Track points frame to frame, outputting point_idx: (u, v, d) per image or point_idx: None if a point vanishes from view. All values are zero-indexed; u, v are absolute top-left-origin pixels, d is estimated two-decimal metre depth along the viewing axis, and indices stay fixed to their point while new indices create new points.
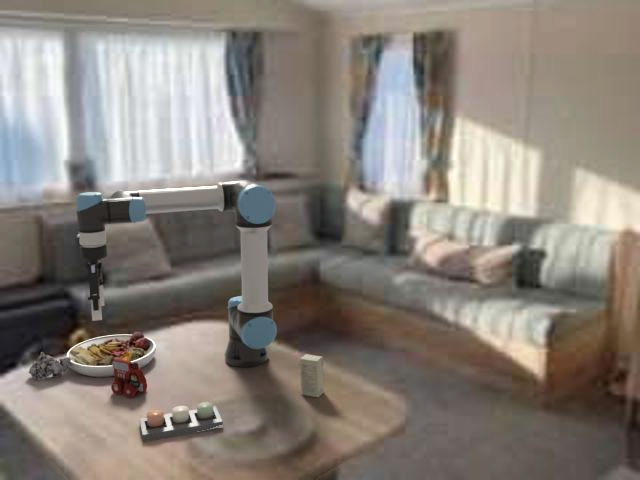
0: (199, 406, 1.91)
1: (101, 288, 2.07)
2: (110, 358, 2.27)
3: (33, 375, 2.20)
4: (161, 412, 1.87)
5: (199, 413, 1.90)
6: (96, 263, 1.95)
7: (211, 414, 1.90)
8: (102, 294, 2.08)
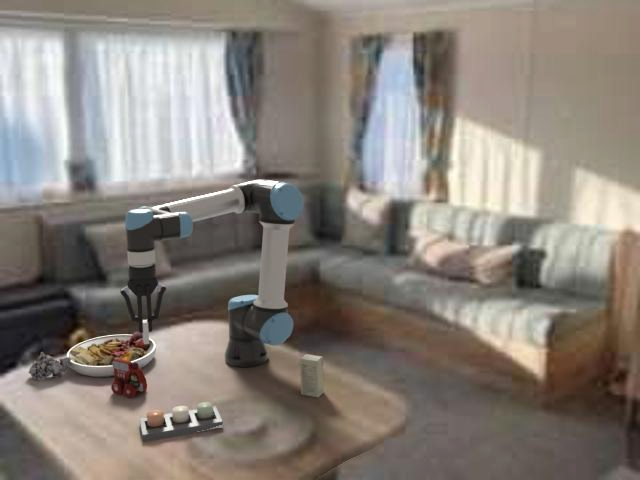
0: (199, 406, 1.91)
1: None
2: (110, 358, 2.27)
3: (33, 375, 2.20)
4: (161, 412, 1.87)
5: (199, 413, 1.90)
6: (128, 284, 1.88)
7: (211, 414, 1.90)
8: None
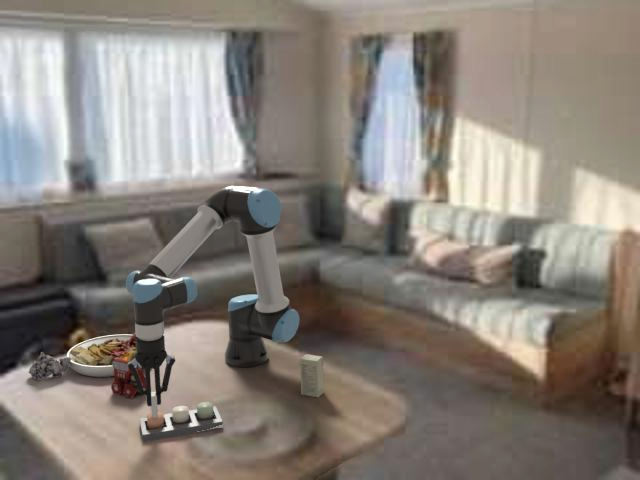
0: (199, 406, 1.91)
1: None
2: (110, 358, 2.27)
3: (33, 375, 2.20)
4: (161, 414, 1.87)
5: (199, 413, 1.90)
6: (135, 357, 1.80)
7: (211, 414, 1.90)
8: None
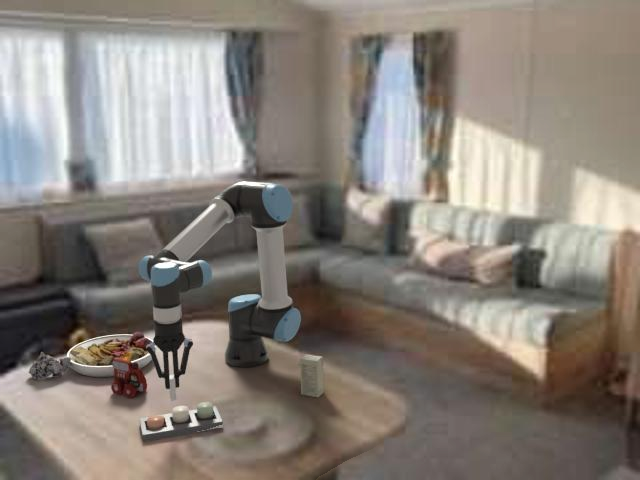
0: (199, 406, 1.91)
1: None
2: (110, 358, 2.27)
3: (33, 375, 2.20)
4: (161, 417, 1.87)
5: (199, 413, 1.90)
6: (154, 341, 1.81)
7: (211, 414, 1.90)
8: None
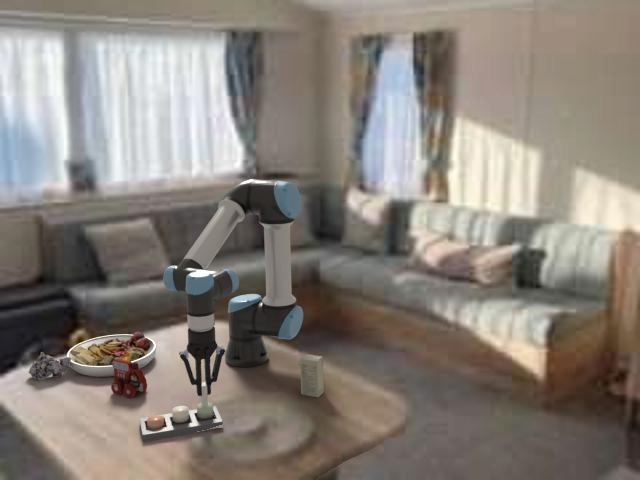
0: (199, 406, 1.91)
1: None
2: (110, 358, 2.27)
3: (33, 375, 2.20)
4: (161, 417, 1.87)
5: (199, 413, 1.90)
6: (187, 348, 1.85)
7: (211, 414, 1.90)
8: None
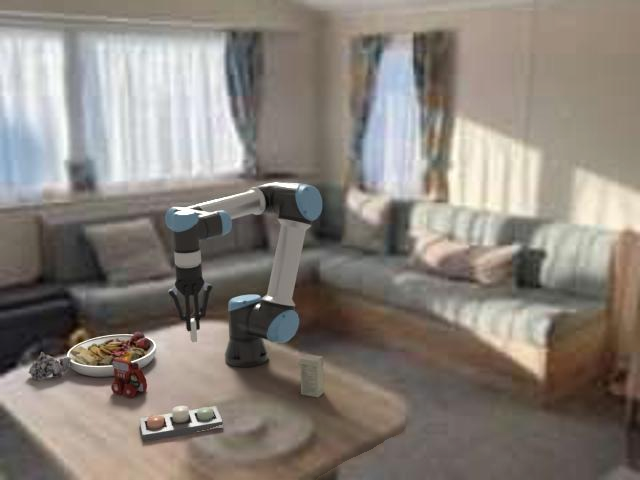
0: (200, 411, 1.91)
1: None
2: (110, 358, 2.27)
3: (33, 375, 2.20)
4: (161, 417, 1.87)
5: (199, 418, 1.90)
6: (175, 285, 1.91)
7: (211, 419, 1.91)
8: None
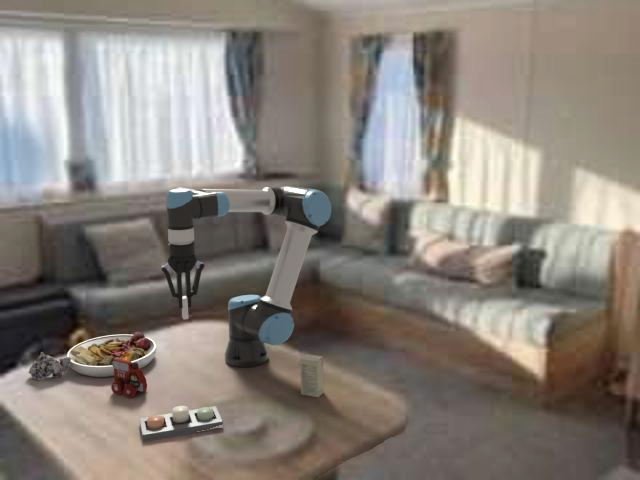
0: (200, 411, 1.91)
1: None
2: (110, 358, 2.27)
3: (33, 375, 2.20)
4: (161, 417, 1.87)
5: (199, 418, 1.90)
6: (168, 261, 1.95)
7: (211, 419, 1.91)
8: None
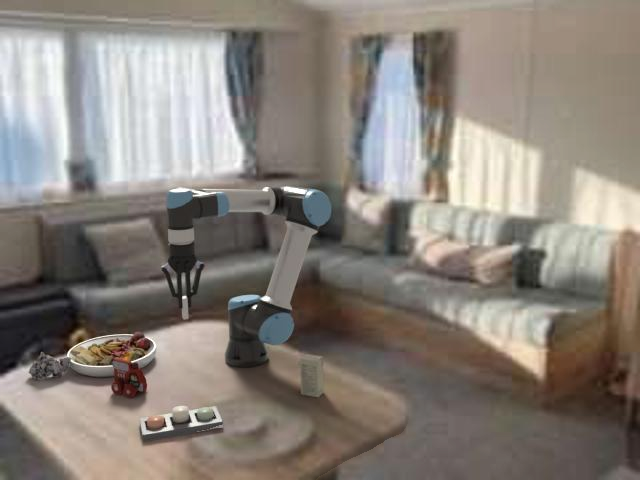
0: (200, 411, 1.91)
1: None
2: (110, 358, 2.27)
3: (33, 375, 2.20)
4: (161, 417, 1.87)
5: (199, 418, 1.90)
6: (168, 261, 1.95)
7: (211, 419, 1.91)
8: None
